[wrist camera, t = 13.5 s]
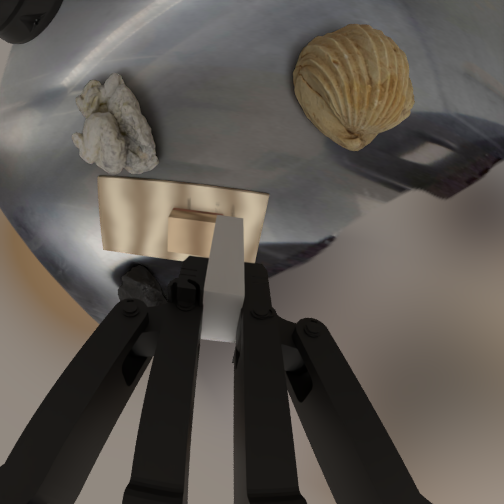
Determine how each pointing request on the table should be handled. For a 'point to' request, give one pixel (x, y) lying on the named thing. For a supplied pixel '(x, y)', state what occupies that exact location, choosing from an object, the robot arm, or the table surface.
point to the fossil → (353, 84)
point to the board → (159, 208)
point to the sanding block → (191, 231)
